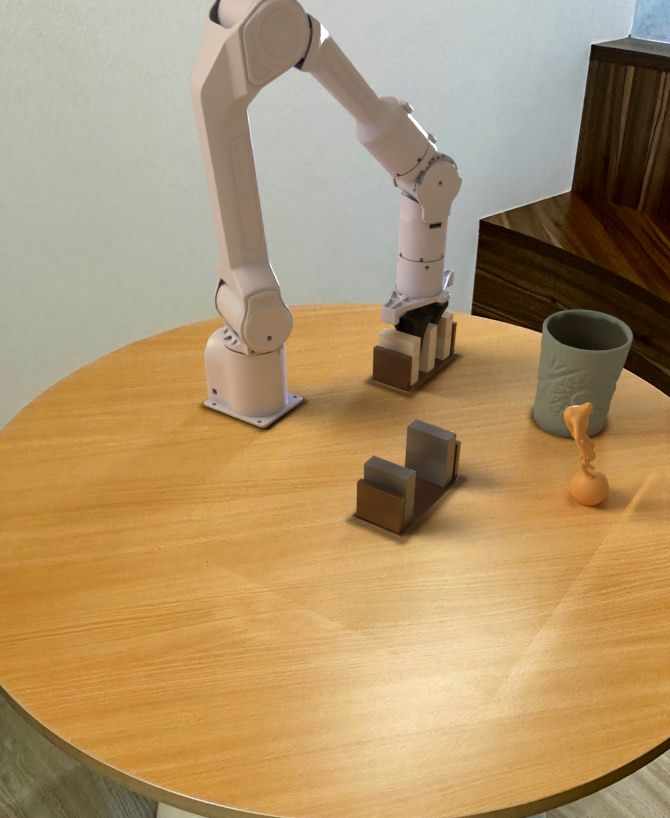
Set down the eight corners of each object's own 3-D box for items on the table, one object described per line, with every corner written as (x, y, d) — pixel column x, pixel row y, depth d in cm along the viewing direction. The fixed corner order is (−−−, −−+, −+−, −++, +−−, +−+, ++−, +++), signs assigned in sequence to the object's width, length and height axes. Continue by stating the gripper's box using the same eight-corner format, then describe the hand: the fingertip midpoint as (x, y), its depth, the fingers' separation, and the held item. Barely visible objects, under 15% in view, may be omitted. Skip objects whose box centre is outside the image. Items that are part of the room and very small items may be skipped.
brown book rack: (351, 520, 91) (352, 468, 87) (414, 462, 100) (417, 412, 96) (401, 541, 89) (404, 488, 85) (461, 480, 97) (466, 429, 93)
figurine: (607, 528, 91) (631, 429, 84) (548, 521, 92) (567, 423, 84) (602, 481, 97) (625, 385, 90) (547, 476, 98) (565, 380, 90)
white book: (394, 362, 116) (396, 320, 113) (401, 357, 118) (403, 315, 114) (427, 373, 114) (430, 330, 111) (434, 367, 116) (437, 325, 112)
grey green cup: (558, 389, 113) (574, 301, 105) (628, 419, 107) (650, 329, 100) (511, 419, 107) (525, 328, 99) (582, 453, 102) (602, 359, 94)
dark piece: (368, 382, 113) (369, 335, 109) (418, 344, 122) (421, 299, 118) (408, 396, 111) (411, 348, 107) (457, 356, 119) (461, 310, 115)
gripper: (419, 281, 100) (413, 386, 109) (478, 241, 109) (468, 341, 118) (367, 266, 103) (365, 370, 112) (429, 229, 112) (422, 328, 121)
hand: (415, 355), depth 115 cm, fingers closed on white book, 2 cm apart
